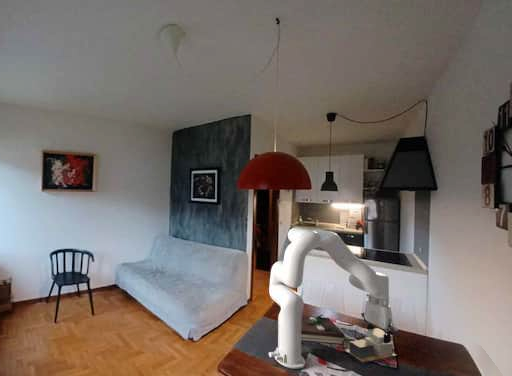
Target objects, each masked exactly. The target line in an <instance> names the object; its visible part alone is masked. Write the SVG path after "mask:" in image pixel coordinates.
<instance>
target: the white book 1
mask: <svg viewBox="0 0 512 376" xmlns="http://www.w3.org/2000/svg"><path fill="white" fill-rule="evenodd" d="M384 334H385V333H384V330H383V329H382V328H380V327H376V328H375V327H374V329H369V330H367V329H364V336H365V337H369V338H371V339H373V340H375V341H377V342H378V343H382V342H384ZM393 335H394V334H392V335H391V341H390V342H393V339H394V338H393V337H394V336H393Z"/></svg>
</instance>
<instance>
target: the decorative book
mask: <svg viewBox="0 0 512 376" xmlns="http://www.w3.org/2000/svg"><path fill="white" fill-rule="evenodd" d="M343 341H345V333H344V332H343V331H342V330H341V329H340V328H339V327H338V326H337V325H336V324H335V322H333V320H332V319H330V318H329V317H325V316H324V314H319V315H317V316H311V315H302V320H301V345H306V344H305V343H304V342H306V343H314V344H324V345H335V346H336V345H338V346H345V344H344V342H343Z"/></svg>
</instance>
